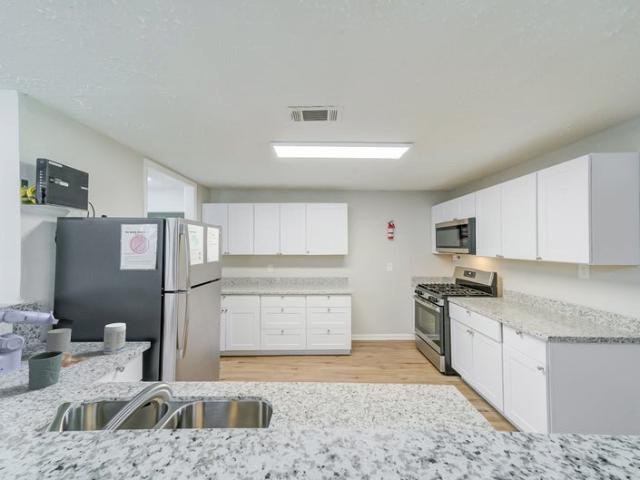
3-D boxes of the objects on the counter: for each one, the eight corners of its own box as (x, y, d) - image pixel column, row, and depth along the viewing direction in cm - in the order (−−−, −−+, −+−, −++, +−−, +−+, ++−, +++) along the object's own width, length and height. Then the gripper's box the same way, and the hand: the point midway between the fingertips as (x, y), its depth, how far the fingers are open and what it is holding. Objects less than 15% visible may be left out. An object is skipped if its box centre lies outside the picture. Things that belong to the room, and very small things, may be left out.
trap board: (65, 367, 128) (65, 366, 128) (46, 365, 129) (46, 364, 130) (90, 358, 139) (90, 357, 140) (73, 356, 141) (73, 355, 141)
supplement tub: (123, 347, 156) (125, 321, 157) (125, 352, 149) (127, 325, 150) (102, 351, 150) (104, 324, 151) (102, 356, 143) (104, 327, 144)
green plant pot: (58, 377, 118) (61, 348, 119) (62, 384, 112) (65, 354, 112) (24, 385, 110) (27, 354, 111) (26, 393, 104) (29, 361, 104)
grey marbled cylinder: (57, 358, 139) (59, 333, 139) (39, 357, 139) (41, 332, 140) (74, 351, 148) (76, 328, 149) (57, 351, 148) (59, 328, 149)
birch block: (60, 366, 128) (61, 356, 129) (52, 365, 129) (53, 355, 130) (70, 362, 133) (71, 353, 133) (63, 361, 134) (63, 352, 134)
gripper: (45, 312, 129) (78, 315, 141) (33, 307, 136) (66, 311, 148) (37, 327, 127) (72, 329, 139) (26, 322, 134) (60, 324, 145)
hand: (69, 321), depth 143 cm, fingers open, 7 cm apart
